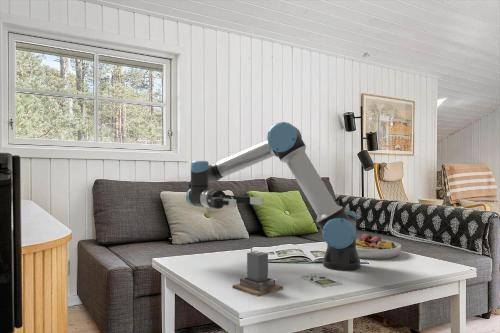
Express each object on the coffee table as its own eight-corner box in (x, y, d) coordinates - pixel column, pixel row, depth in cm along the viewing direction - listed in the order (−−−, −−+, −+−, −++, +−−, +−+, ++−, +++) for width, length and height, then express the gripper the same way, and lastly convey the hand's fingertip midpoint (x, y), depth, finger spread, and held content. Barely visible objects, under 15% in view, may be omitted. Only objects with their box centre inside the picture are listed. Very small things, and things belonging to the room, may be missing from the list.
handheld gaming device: (317, 273, 155) (342, 283, 141) (317, 274, 155) (342, 285, 141) (298, 275, 151) (322, 286, 137) (298, 277, 151) (322, 288, 137)
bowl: (406, 262, 175) (406, 244, 175) (335, 259, 182) (336, 241, 182) (395, 249, 205) (395, 233, 205) (335, 246, 211) (335, 231, 211)
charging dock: (257, 281, 145) (257, 272, 145) (282, 288, 136) (282, 279, 136) (232, 287, 136) (232, 278, 137) (257, 296, 128) (257, 286, 128)
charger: (256, 282, 140) (256, 250, 140) (267, 286, 136) (267, 252, 136) (247, 285, 137) (247, 252, 137) (258, 288, 133) (258, 254, 133)
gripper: (236, 206, 172) (272, 210, 157) (188, 210, 155) (223, 215, 139) (236, 188, 172) (272, 191, 157) (188, 190, 155) (223, 193, 139)
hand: (249, 202), depth 148 cm, fingers open, 13 cm apart
